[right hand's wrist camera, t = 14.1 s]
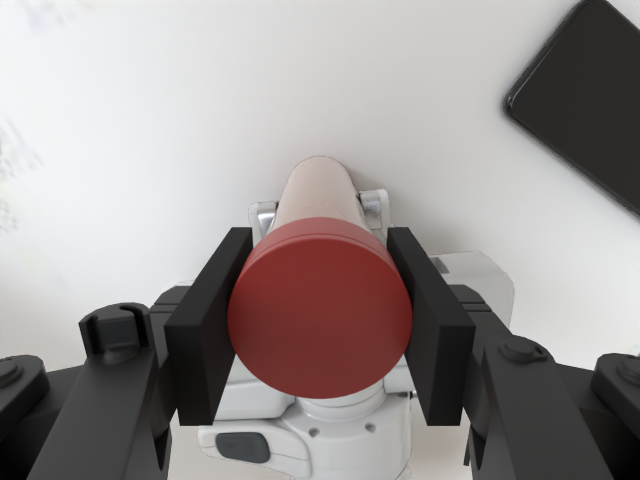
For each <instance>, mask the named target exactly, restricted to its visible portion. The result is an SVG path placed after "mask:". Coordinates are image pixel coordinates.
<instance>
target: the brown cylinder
mask: <svg viewBox="0 0 640 480" xmlns="http://www.w3.org/2000/svg"><path fill="white" fill-rule="evenodd" d="M312 217H329V218H336V219H341V220H344V221H348V222H351V223H353V224H355V225H358V226H360V227H361V228H363V229H365V230H366V231H368V232H370V233H371V234H372V235H373V233H372V230H371V228H370V225H369V223H368V220H367V218H366V215H365V213H364V210H363V208H362V205H361V203H360V200H359V198H358V195H357V193H356V190H355V188H354V185H353V183H352V180H351V178H350V176H349V174H348V172H347V170H346V169H345V168H344V167H343V165H341V164H340V163H339V162H337V161H336V160H334V159H332V158H328V157H323V156H317V157H311V158H308V159H306V160H304V161H302V162H301V163H299V164H298V165H297V166H296V167H295V168H294V170H293V171H292V173H291V175H290V177H289V180H288V182H287V185H286V187H285V190H284V192H283V195H282V197H281V200H280V202H279V205H278V207H277V210H276V212H275V215H274V217H273V220H272V222H271V225H270V227H269V230H268V232H267V235H268V234H269V233H270V232H272V231H273V230H275V229H277V228H278V227H280V226H282V225H284V224H287V223H290V222H292V221H295V220H300V219H304V218H312ZM373 236H374V235H373Z"/></svg>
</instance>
